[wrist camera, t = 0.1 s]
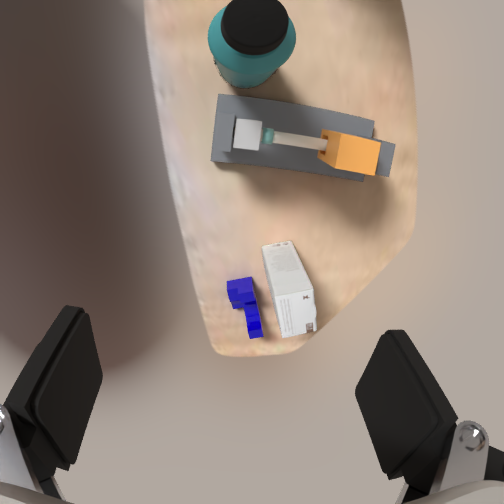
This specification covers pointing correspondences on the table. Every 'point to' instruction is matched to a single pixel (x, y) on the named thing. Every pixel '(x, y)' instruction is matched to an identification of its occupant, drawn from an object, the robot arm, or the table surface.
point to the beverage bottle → (251, 40)
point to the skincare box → (289, 289)
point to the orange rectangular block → (350, 152)
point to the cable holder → (246, 304)
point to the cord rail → (286, 135)
